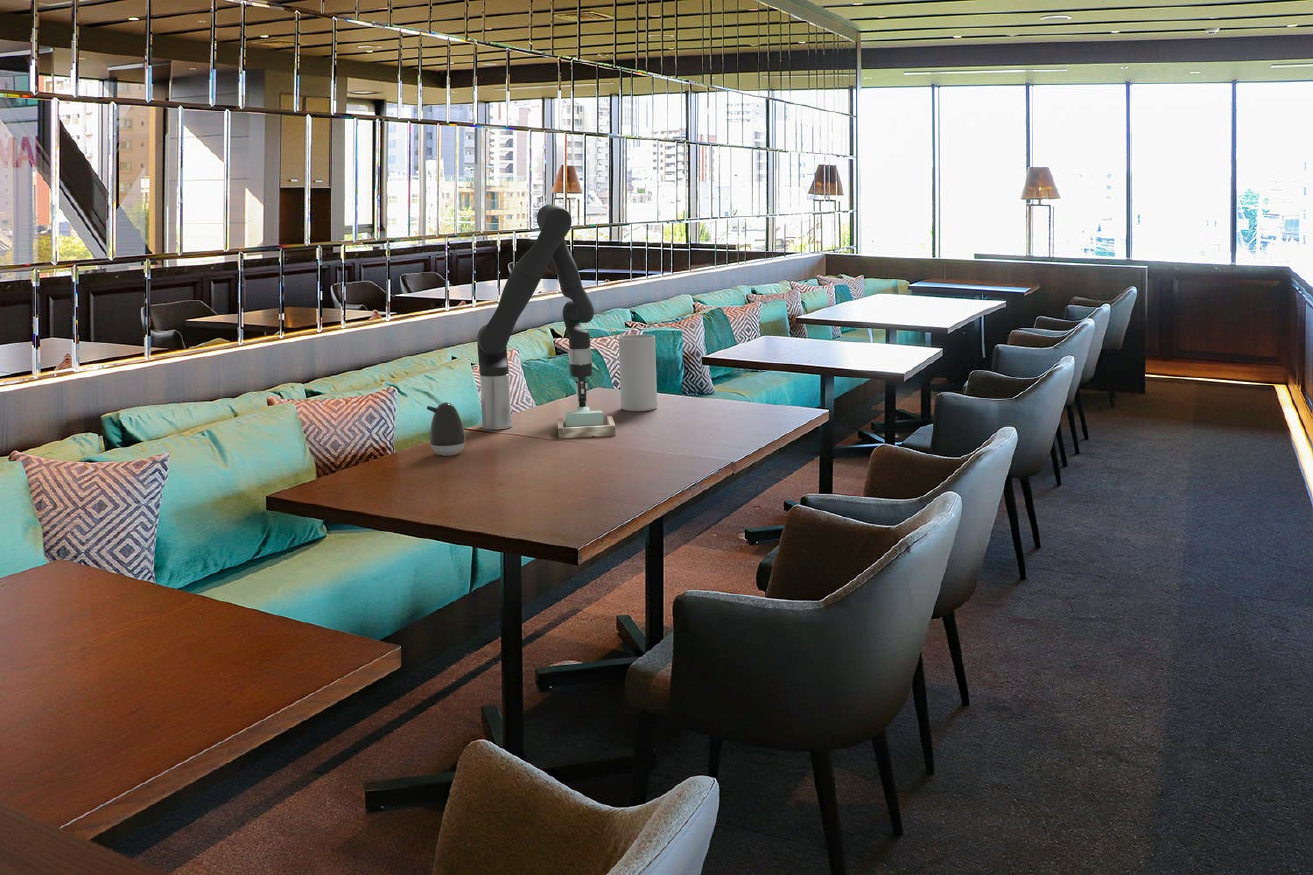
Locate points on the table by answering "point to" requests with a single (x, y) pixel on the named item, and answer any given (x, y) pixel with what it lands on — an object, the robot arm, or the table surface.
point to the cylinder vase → (637, 372)
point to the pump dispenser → (446, 430)
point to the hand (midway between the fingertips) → (582, 413)
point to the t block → (584, 417)
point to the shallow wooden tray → (587, 430)
